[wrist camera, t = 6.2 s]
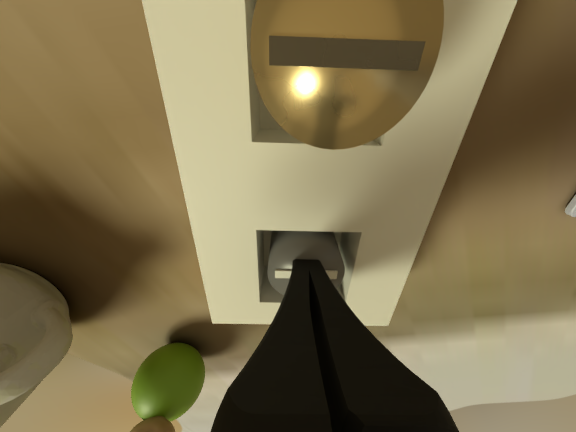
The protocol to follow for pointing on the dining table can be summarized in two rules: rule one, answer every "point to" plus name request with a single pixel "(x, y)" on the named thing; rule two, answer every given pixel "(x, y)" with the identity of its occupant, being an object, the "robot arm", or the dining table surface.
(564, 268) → the dining table surface
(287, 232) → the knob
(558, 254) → the dining table surface
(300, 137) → the knob brass
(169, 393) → the snail figurine
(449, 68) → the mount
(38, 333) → the teacup
